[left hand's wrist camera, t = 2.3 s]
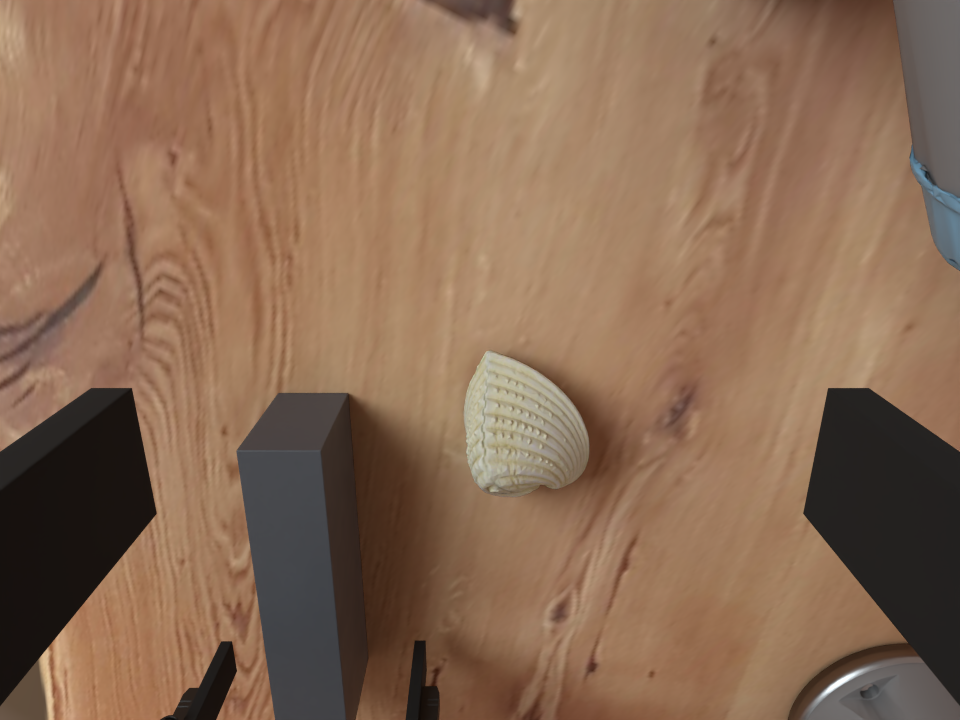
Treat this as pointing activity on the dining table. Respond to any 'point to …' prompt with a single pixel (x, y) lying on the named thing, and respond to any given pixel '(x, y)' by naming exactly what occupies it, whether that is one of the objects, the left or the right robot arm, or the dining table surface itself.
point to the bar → (307, 554)
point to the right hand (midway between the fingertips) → (325, 655)
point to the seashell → (521, 430)
